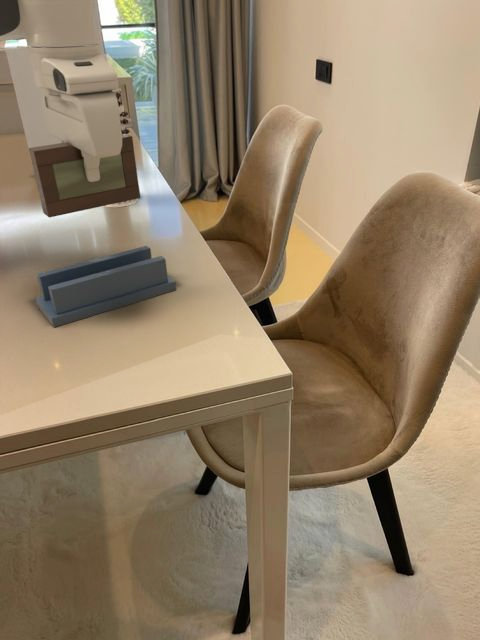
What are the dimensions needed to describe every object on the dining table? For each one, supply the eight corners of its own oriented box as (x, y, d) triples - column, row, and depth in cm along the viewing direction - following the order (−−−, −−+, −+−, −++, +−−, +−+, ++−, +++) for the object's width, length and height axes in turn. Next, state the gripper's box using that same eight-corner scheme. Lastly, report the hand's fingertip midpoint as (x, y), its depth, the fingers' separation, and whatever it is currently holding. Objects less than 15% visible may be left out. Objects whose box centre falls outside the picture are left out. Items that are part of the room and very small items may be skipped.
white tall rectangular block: (35, 180, 144) (4, 48, 128) (45, 174, 149) (16, 46, 132) (87, 181, 142) (63, 48, 126) (96, 175, 147) (73, 46, 131)
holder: (176, 289, 90) (173, 258, 87) (53, 327, 81) (45, 293, 78) (154, 273, 96) (150, 242, 93) (36, 306, 86) (28, 274, 83)
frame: (140, 198, 85) (132, 136, 80) (48, 217, 78) (33, 151, 73) (133, 194, 86) (125, 133, 82) (43, 213, 80) (28, 147, 75)
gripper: (20, 65, 78) (43, 166, 86) (72, 80, 64) (93, 199, 72) (64, 61, 81) (82, 159, 89) (123, 75, 67) (138, 190, 75)
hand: (88, 177), depth 80 cm, fingers closed on frame, 2 cm apart
